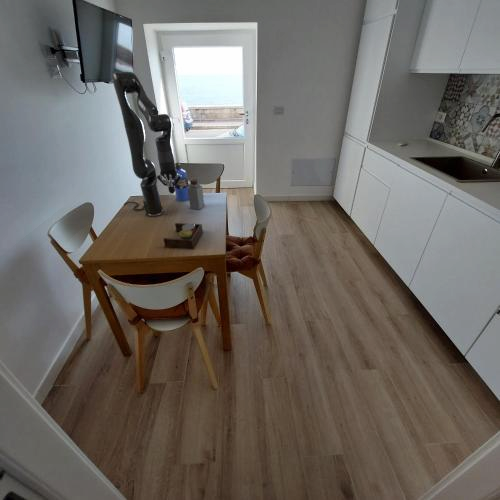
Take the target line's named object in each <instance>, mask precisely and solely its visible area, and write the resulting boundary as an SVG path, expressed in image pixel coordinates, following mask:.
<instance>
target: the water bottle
mask: <svg viewBox="0 0 500 500" xmlns="http://www.w3.org/2000/svg"><path fill="white" fill-rule="evenodd" d="M175 167H176V171H177V173H178V174H179V175H182V177H181V179H180V180H179V182H178V184H177V185H176V186H174V187H175V192H174V193H175V196H176V201H177V202H187V201H189V196H188V190H187V188H189V184H188V181H187V171H186V170H185V169H182V165H181V163H180V162H175ZM176 177H177V176H176ZM176 177H175V179H174V183H175V182H176V180H177V178H176Z"/></svg>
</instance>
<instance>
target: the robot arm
mask: <svg viewBox="0 0 500 500" xmlns="http://www.w3.org/2000/svg"><path fill="white" fill-rule="evenodd" d="M112 83H113V88H114V91H115V94H116V98H117V102H118V104H119V107H120V111H121V116H122V120H123V125H124V129H125V133H126V137H127V142H128V146H129V150H130V157H131V163H132V164H131V165H132V171H133V173H134V175H135V176H136V177H137V178H138V179H141V182H140V184H139V187H140V191H141V193H142V197H143V200H142V203H143V206H142V207H141V208H137V207H138V206H139V205H140V204H139V203H138V202H137V201H136V202H135V201H126V202H124V204H123V205H124V206H125V205H127V204H136V205H135V206H134V207H133V210H134V211H143V210H144V211H145V215H146V216H149V217H158V216H161V215H163V213H164V210H163V209H164V208H163V206H162V202H161V198H160V193H159V189H158V185H157V184H158V181H159V182H160V183H161V184H162V185H163V186H164V187H165V186H166V187H167V189H168V192H169V193H170V194H173V195H174V194H175V193H176V192H175V186H176V185H177V184H178V182H179V180H180V179H181V177H182V175H179V174H178V173H177V171H176V167H175V163H176V161H175V155H174V151H173V147H172V131H173V121H172V118H171V117H170V115H168V114H167V113H161V114H160V111H159V108H158V106H157V105H156V104H155V103H154V102H153V101H152V100H151V99H150V97H149V95H148V94H147V92H146V90H145V88H144V86H143V84H142V83H141V81H140V79H139V78H138V76H137V75H136V74H135V73H134V72H132V71H114V72H113V73H112ZM133 94H136V95H137V96H136V105H137V108H138V110H139V111H140V113H141V114H142V115H143V116H144V118H145V121H146V123H147V126H148V128H149V130H150V131H151V132H153V133H160V132H162V134H161V135H160V136H157V137H156V138H155V141H154V142H155V147H156V154H157V160H158V164H159V165H158V166H159V174H157V172H156V171H157V170H156V167H155V164H154V163H153V161H152V160H151V159H148V158H145V156H144V148H145V144H146V143H145V142H146V133H145V128H144V123H143V121H142V119H141V118H140V116H139V115H138V114H137V113H136V111H135V110H134V109H133V108H132V107H131V105H130V103H129V101H128V98H127V95H133ZM176 176H177V177H176ZM175 177H176V178H177V180H176V182H175V183H174V179H175Z"/></svg>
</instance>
